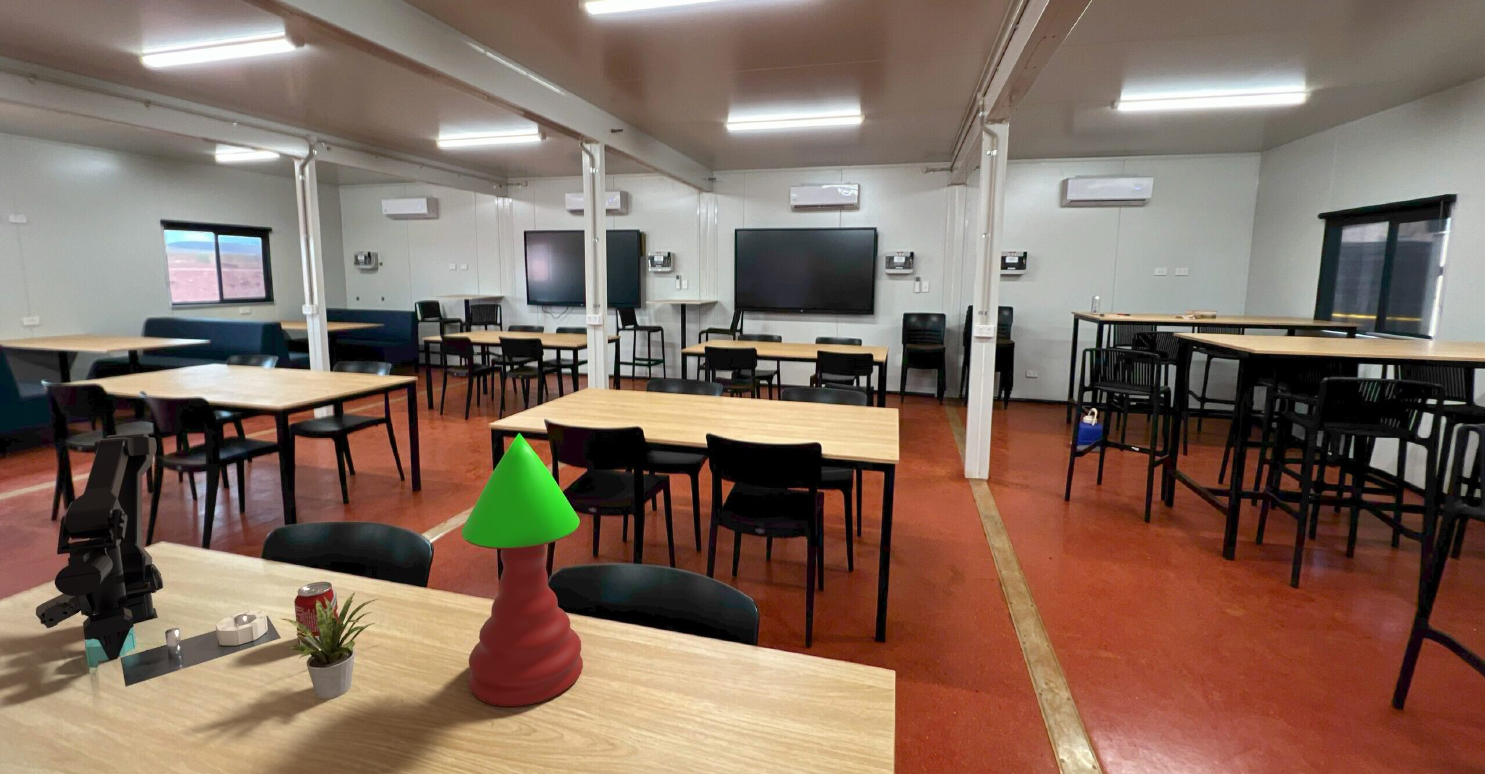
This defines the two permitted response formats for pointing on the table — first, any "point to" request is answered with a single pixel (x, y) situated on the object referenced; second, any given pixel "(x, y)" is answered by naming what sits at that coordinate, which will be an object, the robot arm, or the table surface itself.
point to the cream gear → (241, 628)
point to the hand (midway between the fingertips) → (112, 651)
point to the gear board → (185, 652)
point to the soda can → (313, 606)
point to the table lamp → (522, 585)
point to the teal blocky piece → (97, 652)
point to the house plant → (330, 650)
